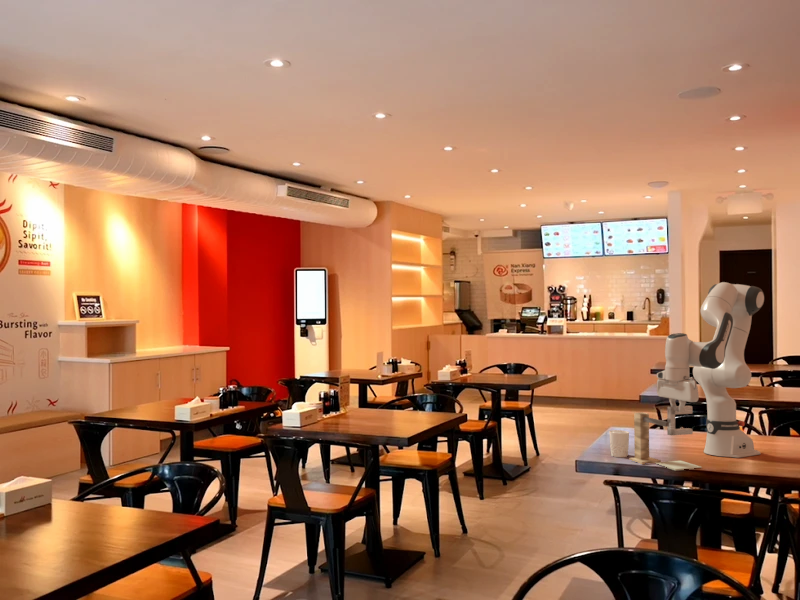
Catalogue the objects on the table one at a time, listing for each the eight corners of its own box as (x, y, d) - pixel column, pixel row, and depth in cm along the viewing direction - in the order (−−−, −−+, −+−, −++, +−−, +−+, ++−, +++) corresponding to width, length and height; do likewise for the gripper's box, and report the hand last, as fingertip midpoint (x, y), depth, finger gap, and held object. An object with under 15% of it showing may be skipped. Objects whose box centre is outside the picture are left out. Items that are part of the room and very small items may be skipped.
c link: (689, 433, 280) (688, 405, 280) (692, 434, 278) (692, 406, 278) (667, 434, 277) (667, 406, 277) (670, 435, 275) (670, 407, 275)
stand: (648, 458, 291) (647, 412, 291) (677, 468, 273) (677, 418, 274) (629, 460, 288) (628, 413, 288) (657, 470, 271) (657, 419, 271)
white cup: (630, 458, 292) (630, 433, 292) (610, 457, 294) (610, 433, 294) (628, 454, 300) (628, 430, 300) (608, 453, 302) (608, 429, 302)
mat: (680, 461, 284) (680, 460, 284) (701, 468, 273) (701, 466, 273) (655, 464, 281) (655, 462, 281) (675, 470, 269) (675, 469, 269)
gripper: (702, 377, 268) (702, 414, 268) (667, 372, 288) (667, 407, 288) (688, 378, 267) (688, 415, 266) (653, 373, 286) (654, 407, 286)
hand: (677, 411), depth 277 cm, fingers closed on c link, 2 cm apart
